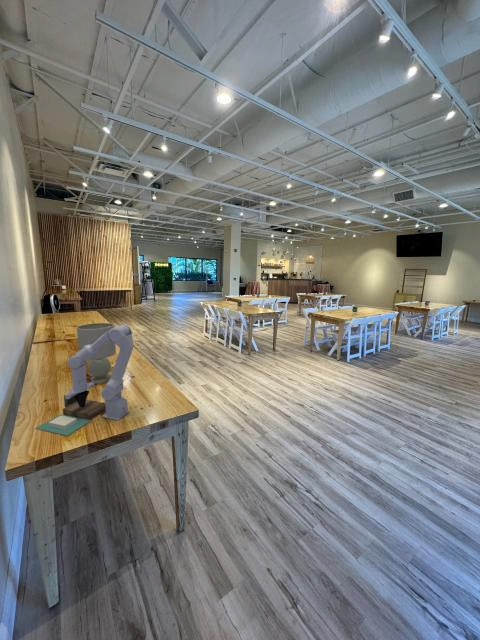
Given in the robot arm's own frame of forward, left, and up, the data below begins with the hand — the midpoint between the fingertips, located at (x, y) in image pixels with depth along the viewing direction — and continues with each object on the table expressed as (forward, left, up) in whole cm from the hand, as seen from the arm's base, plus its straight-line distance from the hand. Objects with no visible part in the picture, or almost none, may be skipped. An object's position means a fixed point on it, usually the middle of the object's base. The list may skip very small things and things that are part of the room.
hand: (82, 406), depth 128 cm
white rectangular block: (0, +10, -3) cm, 11 cm away
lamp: (+23, -35, -4) cm, 42 cm away
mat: (0, +10, -4) cm, 11 cm away
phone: (+17, -10, -4) cm, 20 cm away
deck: (0, -2, -4) cm, 4 cm away
